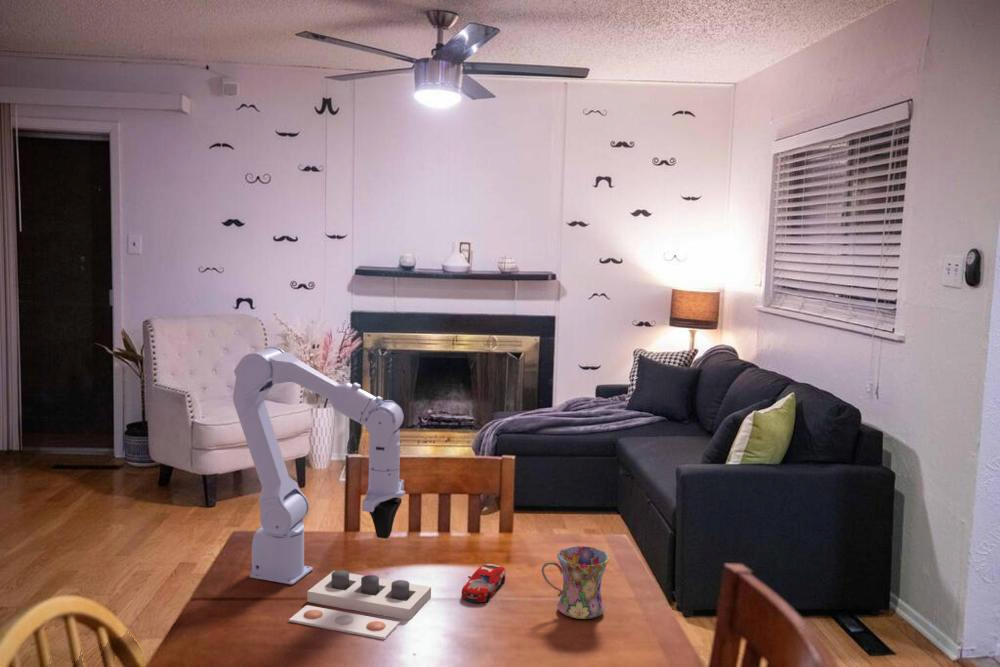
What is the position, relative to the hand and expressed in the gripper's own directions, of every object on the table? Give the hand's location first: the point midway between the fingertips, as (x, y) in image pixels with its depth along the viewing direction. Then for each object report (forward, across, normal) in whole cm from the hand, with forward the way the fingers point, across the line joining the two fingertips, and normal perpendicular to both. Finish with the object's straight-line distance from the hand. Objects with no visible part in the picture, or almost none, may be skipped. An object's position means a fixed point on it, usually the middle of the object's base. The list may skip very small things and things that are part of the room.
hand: (383, 536), depth 167 cm
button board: (+10, -7, 0) cm, 12 cm away
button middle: (+8, -7, -1) cm, 11 cm away
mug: (+10, +2, -37) cm, 38 cm away
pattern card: (+10, -17, 0) cm, 19 cm away
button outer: (+8, -7, -7) cm, 12 cm away
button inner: (+8, -7, +5) cm, 12 cm away
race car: (+10, +5, -19) cm, 22 cm away
